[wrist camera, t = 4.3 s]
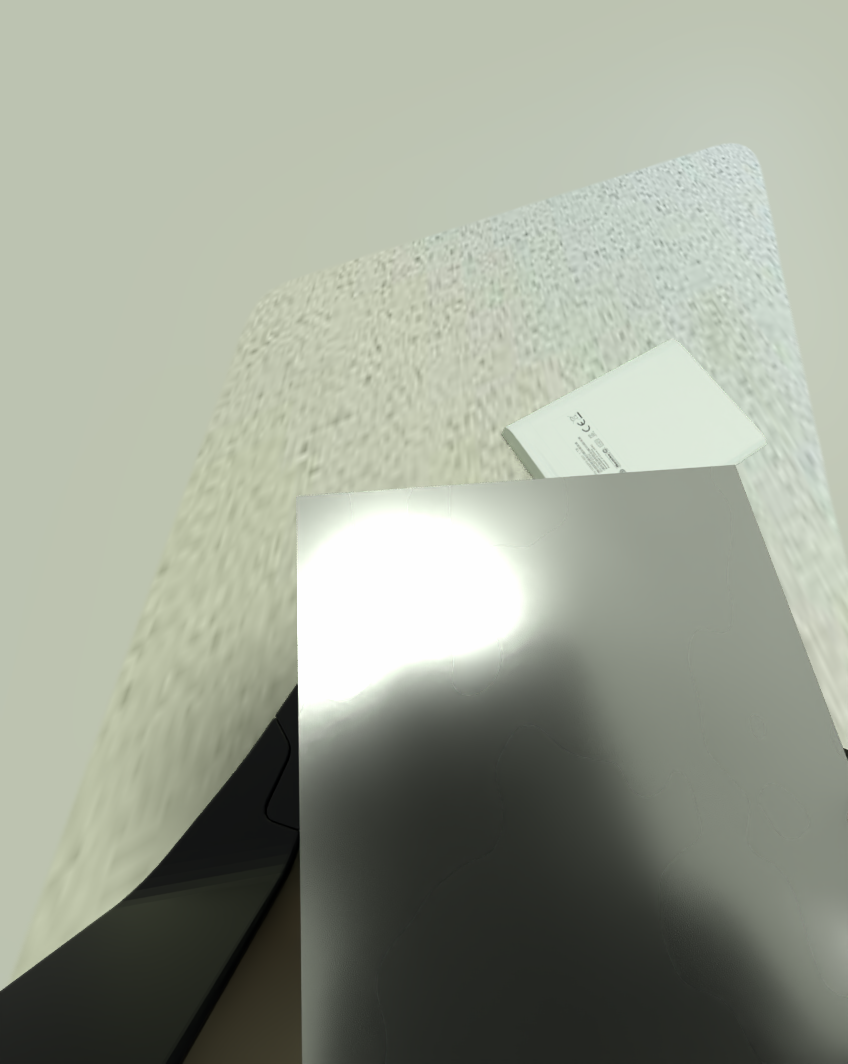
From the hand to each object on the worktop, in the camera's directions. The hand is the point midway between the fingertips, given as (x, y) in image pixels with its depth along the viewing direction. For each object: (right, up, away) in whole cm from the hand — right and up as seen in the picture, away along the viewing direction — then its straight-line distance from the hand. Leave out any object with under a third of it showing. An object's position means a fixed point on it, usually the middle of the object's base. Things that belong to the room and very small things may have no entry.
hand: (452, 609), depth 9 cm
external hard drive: (+11, +7, +11) cm, 17 cm away
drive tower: (0, -3, +6) cm, 7 cm away
